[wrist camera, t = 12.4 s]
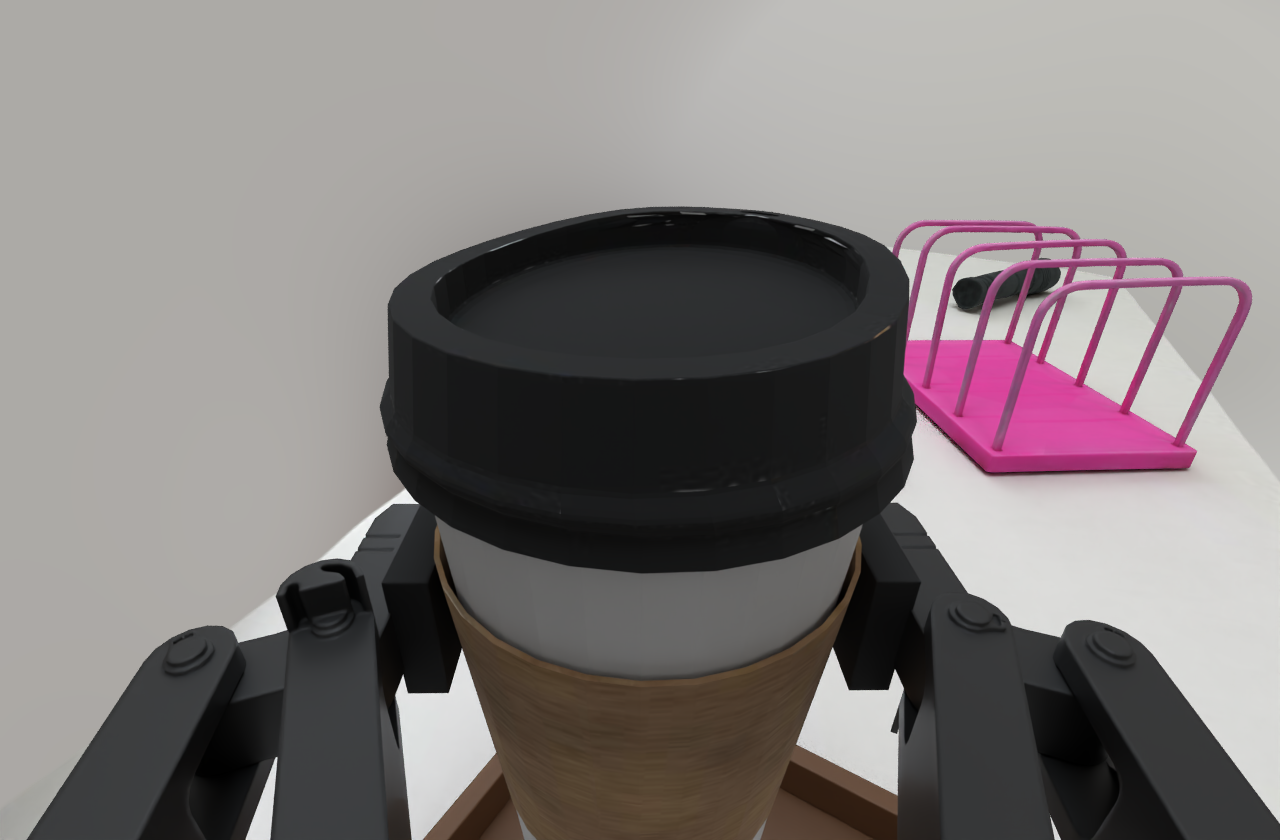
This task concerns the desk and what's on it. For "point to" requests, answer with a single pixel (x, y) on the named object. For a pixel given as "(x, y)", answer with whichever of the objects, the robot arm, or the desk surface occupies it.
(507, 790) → the tray
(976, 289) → the flashlight
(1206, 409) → the desk surface
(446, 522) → the coffee cup
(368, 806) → the robot arm
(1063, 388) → the file sorter
